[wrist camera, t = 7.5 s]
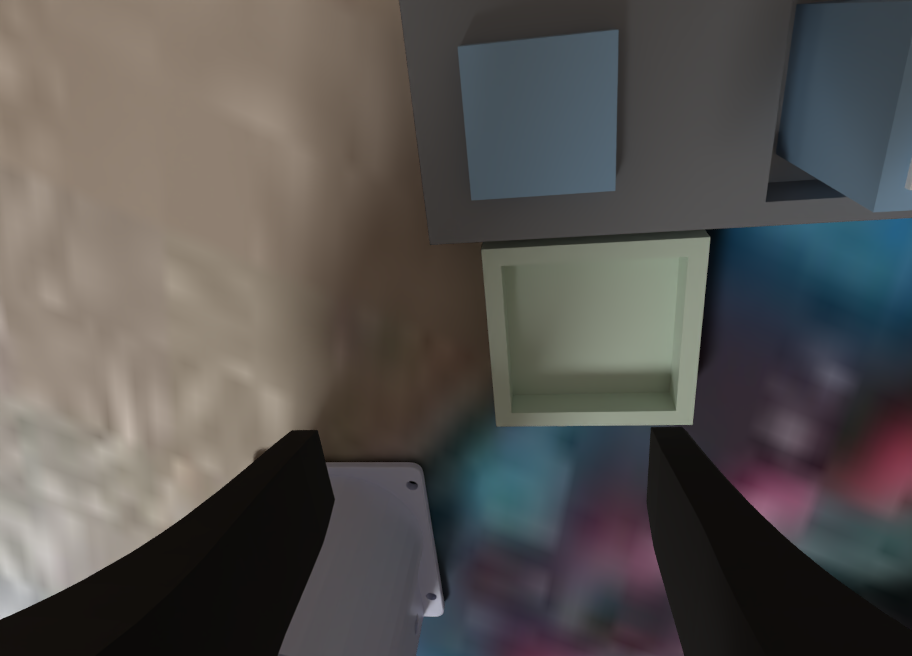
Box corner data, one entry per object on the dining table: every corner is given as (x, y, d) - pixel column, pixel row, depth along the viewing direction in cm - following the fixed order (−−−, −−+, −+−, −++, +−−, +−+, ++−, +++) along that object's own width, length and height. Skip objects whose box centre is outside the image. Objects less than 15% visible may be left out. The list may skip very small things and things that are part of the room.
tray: (681, 396, 23) (692, 424, 21) (498, 399, 24) (496, 426, 22) (696, 219, 20) (710, 237, 18) (485, 231, 21) (481, 249, 19)
